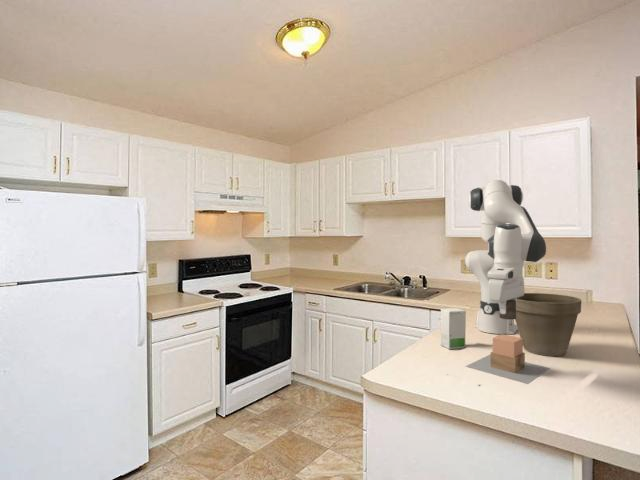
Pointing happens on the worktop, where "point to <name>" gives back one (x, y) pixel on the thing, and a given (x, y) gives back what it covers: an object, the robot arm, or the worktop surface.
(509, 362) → the walnut base block
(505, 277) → the robot arm
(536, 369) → the slate mat
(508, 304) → the espresso cylinder
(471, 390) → the worktop surface
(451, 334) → the skincare box
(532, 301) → the plant pot
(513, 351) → the terracotta top block
